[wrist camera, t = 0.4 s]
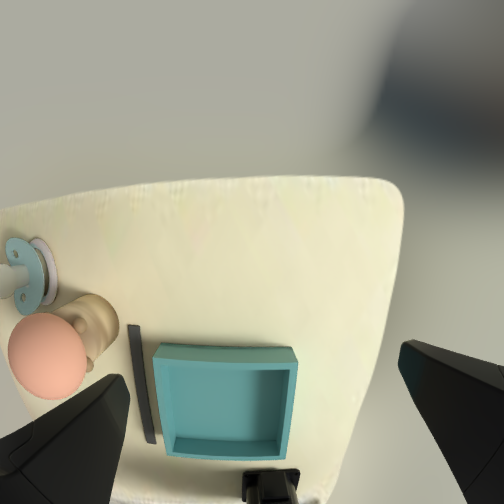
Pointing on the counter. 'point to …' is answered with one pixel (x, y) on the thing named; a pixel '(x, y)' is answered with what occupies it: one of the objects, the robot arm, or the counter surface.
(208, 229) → the counter surface
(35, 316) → the ball
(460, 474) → the robot arm
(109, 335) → the knobbed tan cylinder
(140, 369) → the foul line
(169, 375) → the tray
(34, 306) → the pacifier
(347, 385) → the counter surface
